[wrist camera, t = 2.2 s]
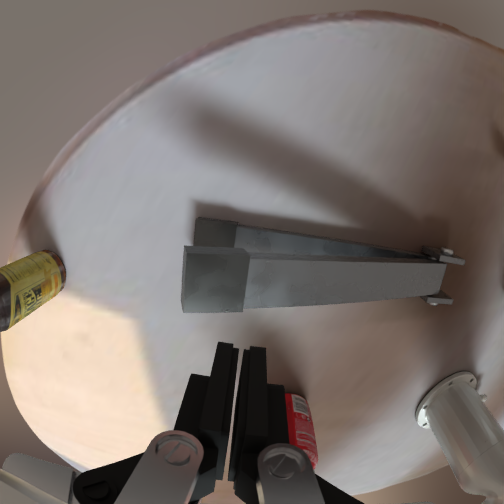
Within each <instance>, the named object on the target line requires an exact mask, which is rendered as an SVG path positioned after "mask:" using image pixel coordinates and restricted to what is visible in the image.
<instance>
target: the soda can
mask: <svg viewBox="0 0 504 504" xmlns="http://www.w3.org/2000/svg"><path fill="white" fill-rule="evenodd" d="M285 399H286V409H287V420H288V431H289V442H290V444H291V445H295V446H297V447H299V448H300V449H302V450H303V451H304V452H305V453H306V454H307V455H308V457H309V459H310V461H311V464H312V467H313V470H314V469H315V467H316V465H317V462H318V454H317V446H316V439H315V433H314V427H313V422H312V416H311V412H310V409H309V405H308V403H307V401H306V400H305V399H304V398H303V397H301V396H299V395H296V394H290V393H285ZM314 473H315V471H314Z"/></svg>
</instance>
